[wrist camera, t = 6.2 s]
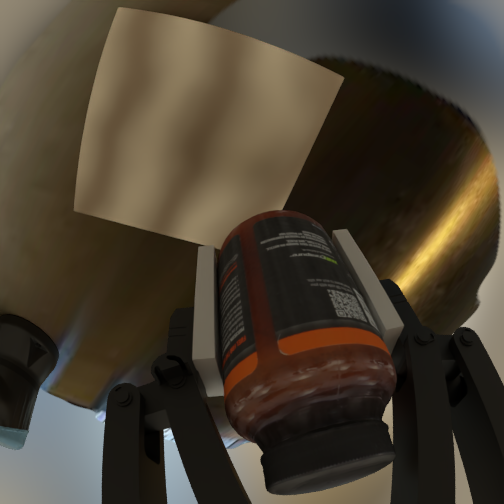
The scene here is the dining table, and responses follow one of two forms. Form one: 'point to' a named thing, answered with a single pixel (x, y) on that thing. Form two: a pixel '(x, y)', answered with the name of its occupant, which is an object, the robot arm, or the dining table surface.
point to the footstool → (195, 127)
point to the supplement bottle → (301, 356)
